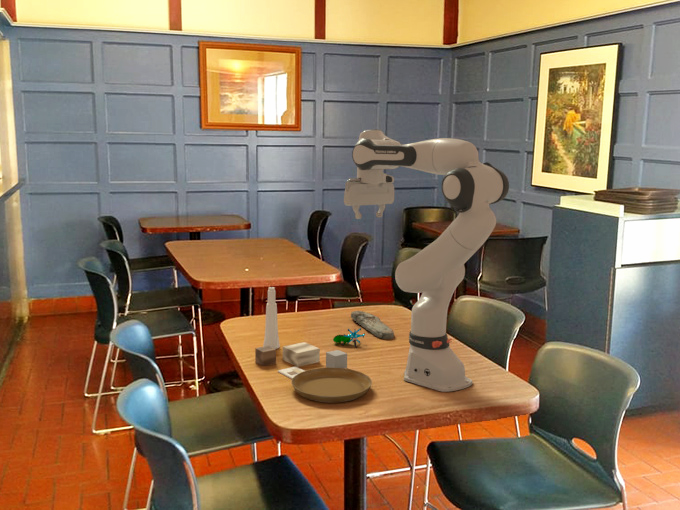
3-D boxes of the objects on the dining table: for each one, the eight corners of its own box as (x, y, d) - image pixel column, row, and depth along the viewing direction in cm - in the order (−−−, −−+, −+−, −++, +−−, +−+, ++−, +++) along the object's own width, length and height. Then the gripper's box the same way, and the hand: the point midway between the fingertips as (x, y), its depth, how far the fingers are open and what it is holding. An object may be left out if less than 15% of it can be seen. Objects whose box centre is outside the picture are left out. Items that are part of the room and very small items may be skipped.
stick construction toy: (366, 336, 253) (361, 323, 248) (369, 351, 248) (364, 338, 243) (335, 344, 254) (330, 331, 249) (337, 358, 249) (332, 346, 244)
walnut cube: (275, 363, 227) (276, 349, 226) (263, 366, 224) (263, 352, 223) (268, 359, 231) (268, 345, 230) (255, 362, 228) (255, 348, 227)
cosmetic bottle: (271, 350, 241) (272, 290, 238) (259, 347, 245) (259, 287, 241) (283, 346, 246) (283, 287, 242) (271, 343, 249) (271, 285, 246)
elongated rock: (376, 344, 256) (400, 343, 259) (377, 331, 255) (401, 330, 258) (344, 316, 288) (366, 316, 292) (345, 304, 287) (367, 304, 290)
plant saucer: (321, 413, 187) (321, 401, 187) (276, 387, 206) (276, 376, 206) (388, 395, 201) (388, 384, 201) (340, 372, 220) (340, 362, 220)
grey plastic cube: (346, 368, 224) (347, 353, 223) (334, 370, 221) (335, 356, 220) (337, 364, 228) (338, 349, 227) (325, 366, 225) (326, 352, 224)
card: (313, 376, 215) (313, 374, 215) (295, 380, 211) (295, 378, 211) (295, 367, 223) (295, 366, 223) (277, 371, 219) (277, 370, 219)
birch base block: (319, 362, 230) (319, 348, 229) (297, 367, 224) (297, 353, 223) (304, 355, 237) (304, 342, 236) (282, 360, 231) (282, 346, 230)
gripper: (351, 178, 223) (351, 220, 225) (397, 177, 236) (396, 217, 238) (340, 177, 228) (339, 218, 230) (385, 176, 240) (384, 215, 243)
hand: (368, 218), depth 234 cm, fingers open, 8 cm apart
